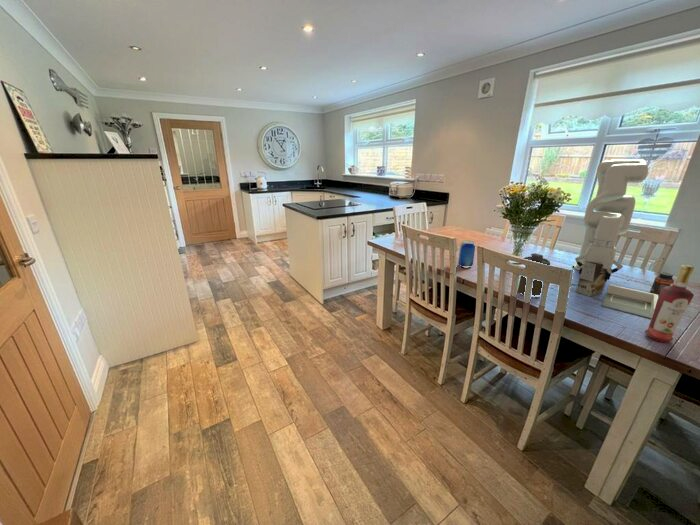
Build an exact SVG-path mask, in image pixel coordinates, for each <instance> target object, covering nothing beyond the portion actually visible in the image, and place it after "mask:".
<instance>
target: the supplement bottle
mask: <svg viewBox="0 0 700 525" xmlns="http://www.w3.org/2000/svg"><path fill="white" fill-rule="evenodd" d="M673 277H674V274H672V273H669V272H666V271H665V272H663V271H661V272H660V273H659V275H658V276H655V277H654V279H653V283H652V285H651V288H650V290H649V293H653V294H657V295H658V297H659V294H660V291H661V288H662V287H666V286H673V284H674V282H675V280H674V278H673Z"/></svg>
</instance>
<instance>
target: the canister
mask: <svg viewBox="0 0 700 525" xmlns="http://www.w3.org/2000/svg"><path fill="white" fill-rule="evenodd" d="M530 255H531V256H525V257H523V259H528V260H532V261H536V262H540V263H543V264H547V265H550V266H551V262H550V260H548V259H546V258H544V255H542V254H539V253H532V254H531V253H530ZM525 285H526V278H525V277H523V276H521V275H520V278H519V283H518V287H517V290H518V292H517V293H518V294H519V293H522V294H523V295H524V292H525ZM541 288H542V282H541V281H537V280H534V281H533V288H532V295H534V296H535V295H540V293H541ZM523 295H522V296H523Z"/></svg>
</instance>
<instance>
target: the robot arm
mask: <svg viewBox="0 0 700 525" xmlns="http://www.w3.org/2000/svg"><path fill="white" fill-rule="evenodd" d="M648 173H649V166H648V163H647V161H646V160H644V159H642V158H641V159H638V158H637V159H611V160H610V159H609V160H603V161H601V162H600V163H599V164H598V166H597V169H596V176H597V177H596V178H597V182H598V188H597V192H596V195H595V197H594V198H593V199H591V201H590V202H589V203H588V204H587V206H586V209H585V213H584V216H583V225H584V226H585V228H584V229H585V230H584V235H583V239H582V244H581V247H580V251H579V255H578V256H577V257H575V258H574V261H575V262H576V263H573V264H572V267H573V266H574V268H573V269H574V270H577V271H579V272H578V274H579V277H580V276H581V272H582V269H583V266H584V264H585V262H586V261H587V262H593V263H598V264H603V269H607V271H608V272H607V274H606V278H605V281H606V282H607V280H608V281H610V278H611V275H612V274H613V273H616V272H618V271H619V270H621V269H622V268H623V267H624V266H623V265H622V264H621V263H619V262H618V261H617V260H615V258H616V253H617V248H616V246H615V245H616V243H617V240H618V236H619V235H624V234H626V233H627V232H628V230H629V227H630V224H631V221H632V218H633V213H634V210H635V206H636V198H635V197H634V196H633V195H627V186H628V183H635V184H637V183H643V182H644V181H645V180H646V179H647V176H648ZM613 265H614V266H616V267H615V268H612V267H613Z"/></svg>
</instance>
